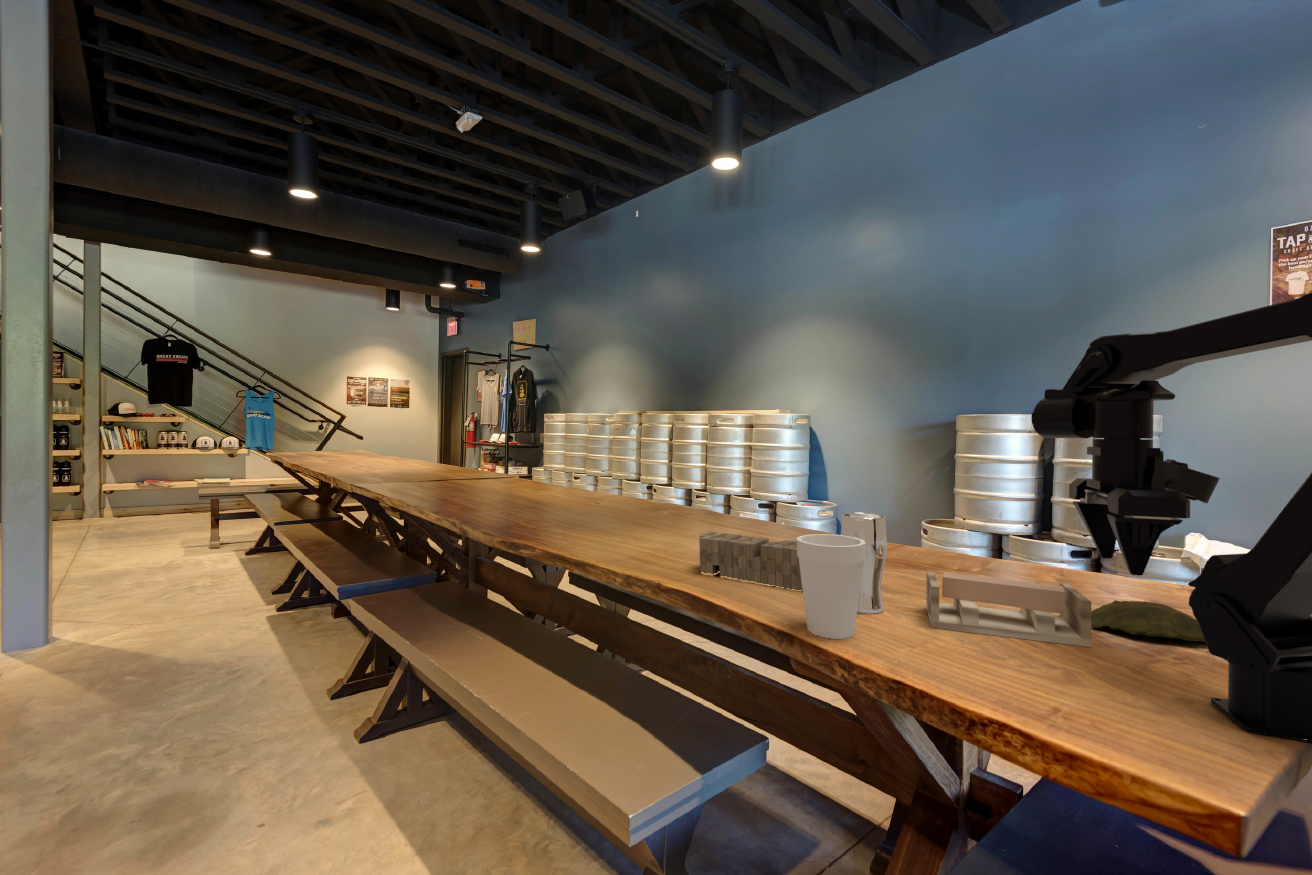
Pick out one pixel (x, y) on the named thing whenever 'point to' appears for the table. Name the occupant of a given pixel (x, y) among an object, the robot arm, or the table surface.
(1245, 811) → the table surface
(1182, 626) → the pottery fragment
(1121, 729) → the table surface
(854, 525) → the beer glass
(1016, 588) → the clay strip
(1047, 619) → the drying rack
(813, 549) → the foam cup
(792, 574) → the block tower
